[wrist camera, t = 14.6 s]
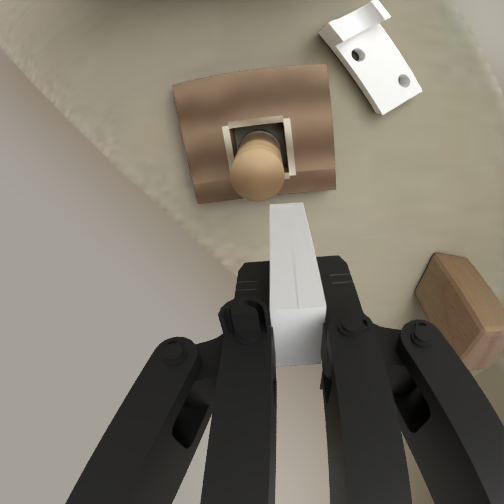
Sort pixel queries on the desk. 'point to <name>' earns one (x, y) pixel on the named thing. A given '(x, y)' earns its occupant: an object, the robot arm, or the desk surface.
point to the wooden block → (462, 309)
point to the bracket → (372, 57)
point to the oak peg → (258, 166)
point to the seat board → (255, 113)
